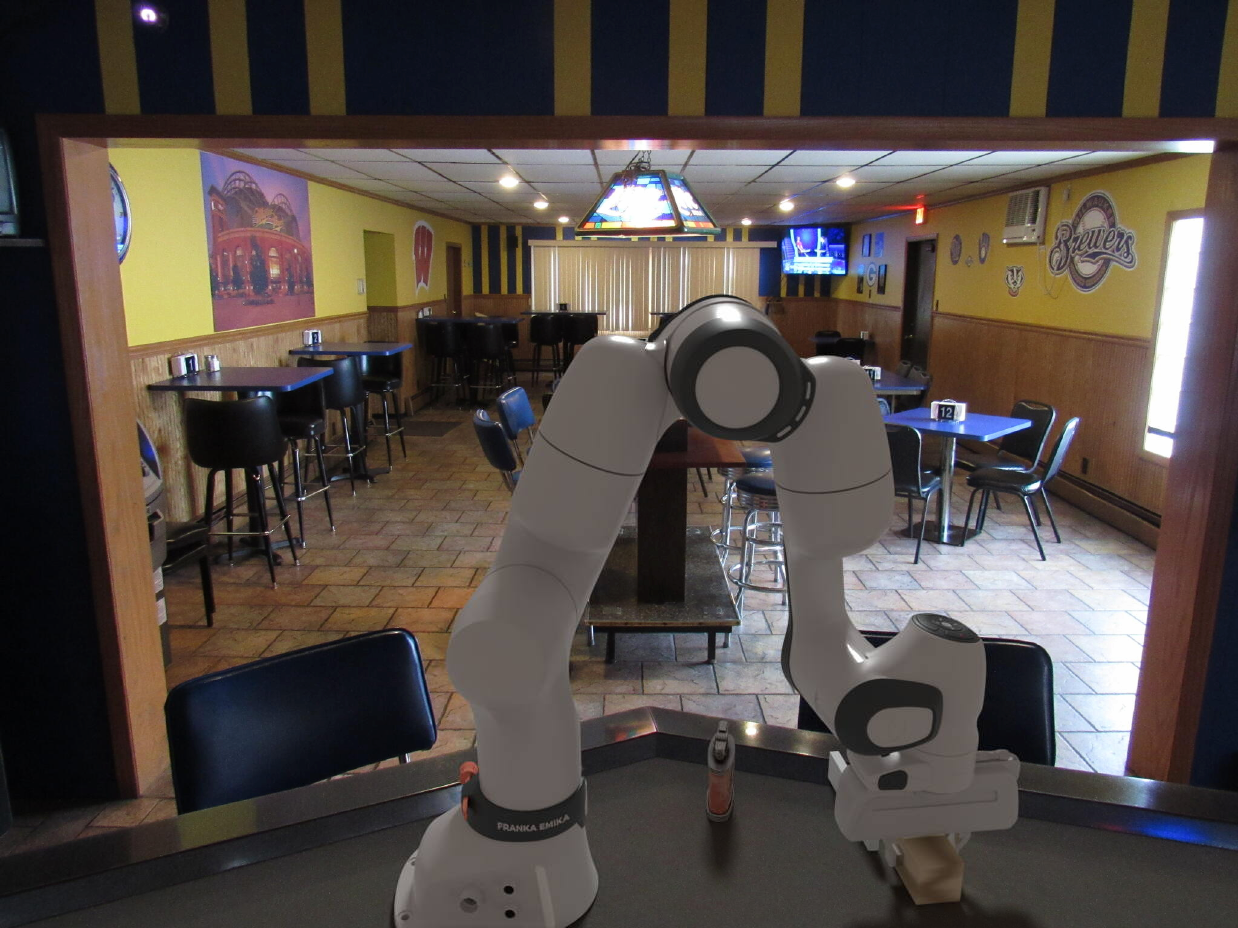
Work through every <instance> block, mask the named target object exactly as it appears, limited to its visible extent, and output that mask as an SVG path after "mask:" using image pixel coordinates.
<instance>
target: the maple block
mask: <svg viewBox="0 0 1238 928" xmlns="http://www.w3.org/2000/svg"><path fill="white" fill-rule="evenodd" d="M947 837H948V836H947V834H939V835H926V836H914V837H902V838H897V843H896V844H898V845H899V846H900V850H902V851H903V853H904V860H903V863H904V864H903V866H896V867H894V868H895V870H896V872H897V873H898V875H899V877H900V879H901V881H902V883H903V884H904V886H905V888H906V889H907V891H908V893H909V894H910V896H911V898H912V901H913V902H914V904H915V905H916V906H918V905H930V904H941V903H953V902H961V897H962V896H961V895H962V887H963V878H964V870H965V864H966V863H965V861H964V860H963V858H962V857H961V855H960V854H958V853H957V851H956V850H955V848H954V847H953V845H952V844H951V843H950V841H949V840H948V838H947Z"/></svg>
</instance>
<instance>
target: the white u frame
mask: <svg viewBox="0 0 1238 928" xmlns="http://www.w3.org/2000/svg"><path fill="white" fill-rule="evenodd" d="M847 766H848V764H847V762H845V759H844V758H843V756H842V755H841V753H840V751H839V750H837V751H835V750H834V751H829V759H828V772H827V778H828V780H829V782H830V784H831V785H832V787H833V789H834V791H835V794H837V788H838V784H839V780H840V776H841V774H842V772H843V770H844V769H845V768H846V767H847ZM862 842H863V844H864V845H865V847H866V849H867V851H868V852H873V851H879V844H880V839H878V840H866V841H862Z"/></svg>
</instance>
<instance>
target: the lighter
mask: <svg viewBox="0 0 1238 928" xmlns="http://www.w3.org/2000/svg"><path fill="white" fill-rule="evenodd" d="M707 749H708V750H707V765H708V790H707V791H706V793H707V794H706V812H707V813H706V814H707V817H708V818H709V819H710V820H712V821H714V822H718V823H719V822H720V823H721V822H725V821H727V820H728V819H729V818H730V814H731V812H732V810H733V804H734V785H733V781H734V777H735V758H736V744H735V739H734V736H733V735H732V734H730V733H729V722H727V720H720V721H719V722H718V728H717V732H716V733H715V734H714V735H713V736H712V738H711V740H710V742H709V746H708V748H707Z"/></svg>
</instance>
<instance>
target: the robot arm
mask: <svg viewBox="0 0 1238 928" xmlns="http://www.w3.org/2000/svg"><path fill="white" fill-rule="evenodd" d="M681 418H684V420H686V421H687V422H688V423H689V424H690V425H691V426H692V427H693V428H695V429H696V430H698V431H699V432H700V433H702V434H704V435H707V436H708V437H711V438H713V439H714V438H715V439H719V440H724V441H731V442H732V441H733V442H736V441H737V442H745V441H746V442H747V441H751V442H760V443H767V447H768V450H769V453H770V459H771V466H772V468H771V469H772V473H773V474H772V475H773V480H774V481H773V482H774V488H775V494H776V498H777V500H776V501H777V504H778V508H779V515H780V520H781V525H782V527H781V528H782V530H781V531H782V548H783V549H782V551H783V563H784V571H785V574H784V575H785V583H786V584H785V585H786V593H787V594H786V595H787V598H786V599H787V607H788V615H787V616H788V618H787V619H788V620H787V626H786V631H785V634H784V639H783V642H782V645H781V646H782V647H781V651H780V666H781V669H782V670H781V671H782V673H783V674H782V675H783V676H784V678H785V679H786V681H787V683H788V684H789V685H790V686H791V687H792V688H793V689H794V690H795V691H796V693H798V695H800V696H801V697H802V698H803V699H804V700H805V701H806V702H807V703H808V705H809V707H811V709H812V710H813V711H814V712H815V713H816V715H817V716H818V717H819V718H820V720H821V721H822V722H823V723H824V724H825V725H826V726H827V728H828V729H829V730H830V731H831V733H832V734H833V736H835V738H836V739H837V740H838V741H839V743H841V744H842V746H844V747H845V749H846V756H847V759H848V761H849V763H850V764H847V767H846V768H845V769H844V770H843V772H842V774H841V776H840V780H839V784H838V788H837V793H835V794H836V795H835V801H834V802H835V803H834V814H833V815H834V818H835V821H836V823H837V827H838V828H839V830H840V832H841V834H842V835H843V836H844V837H845V838H846V839H847V840H848V841H849V842H853V843H854V842H863V841H866V840H878V839H879V840H881V842H883V845H884V846H885V848H884V849H885V850H884V851H885V852H884V858H885V860H886V863H887V864H888V866H889V867H890V868H895V867H896V866H903V864H904V863H903V860H904V853H903V851H902V850H900V846H899V845H898V844H896V843H897V838H902V837H914V836H926V835H939V834H945V835H947V834H948V836H946V837H947V838H948V840H949V841H950V843H951V844H952V845H953V847H954V848H955V850H956V851H957V853H958V854H959V853H960V851H961V849H962V848H963V847H964V846H965V845H966V844H967V843H968V841H969V840H970V839H971V836H972V832H985V831H986V832H987V831H999V830H1000V831H1001V830H1008V829H1011V828H1012V827H1013V826H1014V824H1015V823H1016V822H1017V820H1018V816H1019V791H1018V790H1019V789H1018V788H1019V787H1018V783H1017V781H1018V779H1019V777H1020V771H1021V762H1020V760H1019V757H1018V756H1017V755H1016V754H1014V753H1013V752H1010V751H1009V750H1008V749H1001V748H1000V749H996V750H978V747H979V739H980V738H979V737H980V736H979V731H978V727H977V724H978V723H977V722H978V718H979V716H980V714H981V712H982V710H983V705H984V700H985V699H984V698H985V691H986V690H985V689H986V678H987V660H986V659H987V658H986V657H987V656H986V651H985V646H984V642H983V640H982V638H981V637H980V636H979V635H978V634H977V633H976V631H975V630H973V629H971V628H970V627H969V626H967V625H966V624H964V623H963V622H961V621H960V620H957V619H955V618H952V617H950V616H947V615H944V614H939V613H935V612H934V613H932V612H923V613H921V612H920V613H916V614H913V615H911V616H910V618H909V619H908V620H907V621H908V622H907V623H906V624H905V626H904V628H902V630H901V631H900V632H898V633H897V634H896V635H895V636H894V637H892V638H891V639H889V640H888V641H886V642H884V643H883V644H881V645H879V646H878V647H874V645H873V644H872V643H870V642H869V641H868V640H867V639H866V638H865V637H864V636H863V634H862V633H861V632H860V630H859V629H858V628H857V627H856V625H855V624H854V623H853V622H852V620H851V618H850V616H849V614H848V612H847V609H846V598H845V596H846V595H845V582H844V581H845V579H844V576H845V575H844V561H843V560H844V558H847V557H851V556H854V555H857V554H860V553H863V552H864V551H867V550H868V549H870V548H872V547H873V546H874V545H876V544H877V543H878V542H879V541H880V540H881V539H883V537H884V536H885V535H886V534H887V532H888V531H889V529H890V528H891V526H892V524H893V520H894V519H893V518H894V510H895V498H896V497H895V495H896V494H895V484H894V483H895V481H894V480H895V479H894V474H893V472H894V471H893V466H892V465H893V464H892V463H893V462H892V458H891V450H890V444H889V439H888V435H887V430H886V425H885V420H884V417H883V413H882V409H881V406H880V402H879V399H878V395H877V393H876V391H875V388H874V385H873V382H872V379H871V377H870V375H869V373H868V372H867V371H866V369H865V368H864V367H862V365H860V364H859V363H857V362H855V361H853V360H851V359H848V358H845V357H841V356H836V355H817V356H812V357H807V358H804V357H803V358H802V357H800V356H799V355H798V354H797V353H796V351H795V350H794V349H793V347H792V346H791V344H789V343H788V341H787V340H786V339H785V338H784V337H783V336H782V334H781V333H780V330H779V329H778V327H777V326H776V324H775V322H774V321H773V320H772V319H771V318H770V317H769V316H768V314H766V313H764V312H763V311H762V310H761V309H760V308H758V307H756V306H755V305H753V304H752V303H751V302H749V301H748V300H746V299H744V298H741V297H739V296H736V295H733V294H725V293H714V294H710V295H704V296H703V297H700V298H698V299H695V300H694V301H691V302H690V303H688V304H686V305H685V306H684V307H682V308H681V309H680V310H678V311H677V312H676V313H675V314H674V315H673V316H671V317H670V318H669V319H668V320H666V321H665V322H663V324H661V325H659V326H658V327H657V328H656V329H654V330H653V331H651V333H650V334H649V336H648V337H647V340H646V341H644V340H641V339H638V338H635V337H632V336H629V335H623V334H610V333H609V334H602V335H598V336H595V337H593V338H591V339H590V340H588V341H587V342H585V343H584V344H583V345H582V346H581V347H580V348H579V350H578V351H577V353H576V355H575V356H574V358H573V360H572V361H571V362H570V364H569V365H568V368H567V369H566V371H565V373H564V374H563V376H562V378H561V379H560V381H559V383H558V385H557V387H556V388H555V390H554V392H553V394H552V396H551V399H550V400H549V403H548V405H547V407H546V409H545V412H544V414H543V416H542V419H541V421H540V424H539V426H538V429H537V431H536V434H535V436H534V438H533V442H532V444H531V447H530V450H529V452H528V454H527V457H526V459H525V462H524V465H523V468H522V470H521V473H520V476H519V478H518V479H517V482H516V485H515V488H514V490H513V493H512V495H511V499H510V508H509V511H508V512H509V513H508V516H507V520H506V524H505V528H504V531H503V534H502V537H501V540H500V545H499V547H498V550H497V552H496V555H495V557H494V560H493V561H492V563H491V564H490V567H489V568H488V570H487V572H486V574H485V575H484V577H483V579H482V580H481V581H480V584H479V585H477V586H478V587H476V588H475V590H474V591H473V593H472V594H471V596H470V597H469V599H468V600H467V602H466V603H465V604H464V606H463V607H462V609H461V610H460V611H459V613H458V615H457V616H456V619H455V620H454V625H453V627H452V630H451V633H450V637H449V641H448V645H447V649H446V653H445V668H446V673H447V676H448V679H449V681H450V683H451V685H452V687H453V688H454V689H455V691H456V692H457V694H458V695H460V697H461V698H463V699H464V700H465V701H466V702H468V703H469V706H470V708H471V712H472V716H473V722H474V726H475V733H476V734H475V736H476V737H475V738H476V749H477V750H476V751H477V753H476V754H477V764H476V762H474V761H466V762H463V763H462V765H461V766H460V768H459V773H460V774H459V777H458V779H459V782H460V784H461V785H462V786H461V789H460V790H461V791H460V803H458V804H457V805H456V806H454V807H452V808H451V809H449V810H447V811H446V812H445V813H443V814H441V815H440V816H438V817H436V818H435V819H433V821H432V822H431V823H430V824H429V825H428V827H427V828H426V830H425V832H424V834H423V836H422V838H421V841H420V844H419V846H418V848H417V849H416V850H415V851H414V852H413V853H412V854H411V856H410V857H409V858H408V859H407V861H406V863H405V864H404V866H403V868H402V870H401V873H400V875H399V877H398V882H397V885H396V890H395V896H394V905H393V906H394V907H393V909H394V910H393V911H394V912H393V913H394V914H393V917H394V918H393V919H394V925H395V928H566V927H568V926H570V925H571V924H572V923H574V922H576V921H577V920H578V919H579V918H581V917H582V916H583V915H584V914H585V913H586V912H587V911H588V909H590V907H591V905H592V904H593V902H594V900H595V898H596V896H597V893H598V888H599V875H598V874H599V873H598V872H597V868H596V866H595V863H594V860H593V858H592V854H591V851H590V847H589V842H588V838H587V832H586V820H587V815H588V788H587V786H588V785H587V779H586V775H585V769H584V767H583V766H582V749H581V748H582V746H581V745H582V744H581V743H582V742H581V737H582V736H581V711H580V708H579V705H578V703H577V702H576V700H574V696H573V693H572V691H573V690H572V687H571V682H570V673H569V671H570V670H569V669H570V668H569V667H570V664H569V663H570V653H571V649H572V644H573V641H574V640H573V639H574V637H575V633H576V630H577V629H578V626H579V623H580V621H581V618H582V615H583V613H584V611H585V608H586V606H587V604H588V601H589V599H590V597H591V594H592V593H593V590H594V587H595V585H597V584H596V583H597V581H598V579H599V577H600V575H601V572H602V570H603V567H604V566H605V564H606V561H607V559H608V557H609V554H610V553H611V550H612V548H613V546H614V544H615V542H616V540H617V537H618V536H619V534H620V531H621V528H622V526H623V524H624V522H625V520H626V517H627V515H628V513H629V510H630V508H631V506H632V503H633V501H634V498H635V497H636V493H637V492H638V490H639V487H640V485H641V483H642V480H643V478H644V476H645V474H646V472H647V468H648V467H649V464H650V462H651V459H652V457H653V455H654V452H655V449H656V446H657V444H658V442H659V441H660V440H661V439H662V437H663V435H664V433H665V432H666V431H667V430H668V428H670V427H671V426H672V425H673V424H674V423H675V422H676V421H678V420H679V419H681ZM959 855H960V854H959Z"/></svg>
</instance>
